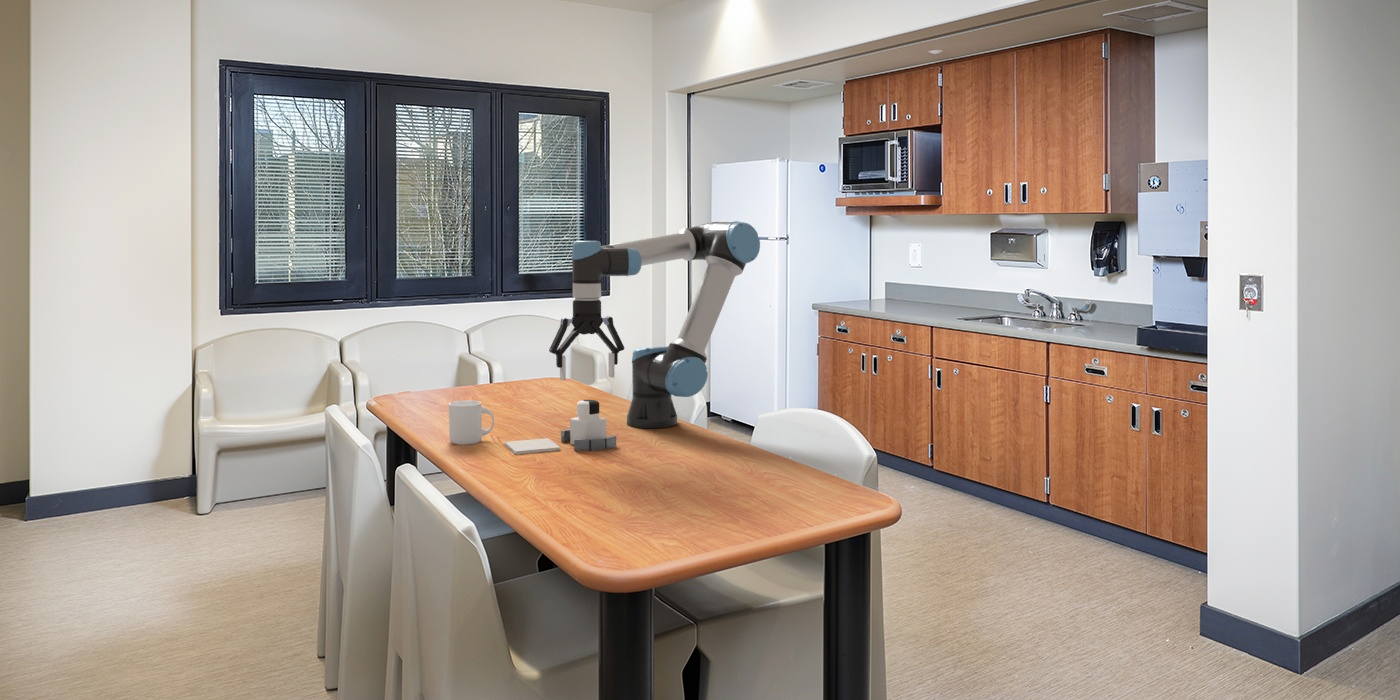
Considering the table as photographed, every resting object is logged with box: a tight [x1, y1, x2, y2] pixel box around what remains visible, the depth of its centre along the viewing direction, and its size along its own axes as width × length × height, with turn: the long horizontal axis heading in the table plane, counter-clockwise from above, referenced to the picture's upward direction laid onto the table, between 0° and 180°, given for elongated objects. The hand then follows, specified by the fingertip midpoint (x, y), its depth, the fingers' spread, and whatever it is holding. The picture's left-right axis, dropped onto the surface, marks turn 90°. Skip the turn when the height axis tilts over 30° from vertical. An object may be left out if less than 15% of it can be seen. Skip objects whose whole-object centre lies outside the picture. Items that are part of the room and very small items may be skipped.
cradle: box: [560, 428, 617, 452], centre depth 260 cm, size 12×16×3 cm
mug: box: [448, 399, 495, 446], centre depth 263 cm, size 9×12×11 cm
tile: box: [503, 437, 561, 455], centre depth 256 cm, size 12×12×1 cm
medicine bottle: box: [569, 399, 607, 446], centre depth 260 cm, size 7×7×12 cm
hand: (587, 378), depth 258 cm, fingers open, 13 cm apart
